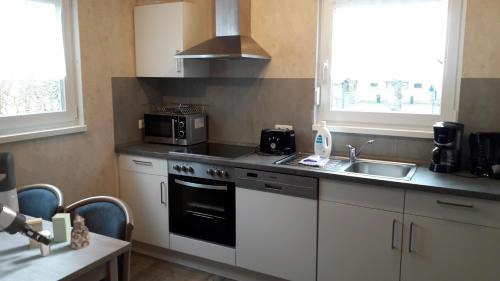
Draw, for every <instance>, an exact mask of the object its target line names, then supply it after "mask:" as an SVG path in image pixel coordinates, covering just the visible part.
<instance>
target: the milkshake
mask: <svg viewBox="0 0 500 281" xmlns="http://www.w3.org/2000/svg"><path fill="white" fill-rule="evenodd" d="M39 233H40V234H41V235H43V236H44V237H46V238H48V239H50V240H51V231H49V230H47V229H46V230H44V229H43V231H41V232H39ZM38 237H39V235H38V236H37V239H38ZM38 243H39V242H38ZM38 248H39V253H40V256H41V257H47V256H49V255H51V243H50V244H49V245H48V246H47V245H45V244H43V243H41V242H40V243H39V247H38Z"/></svg>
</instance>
